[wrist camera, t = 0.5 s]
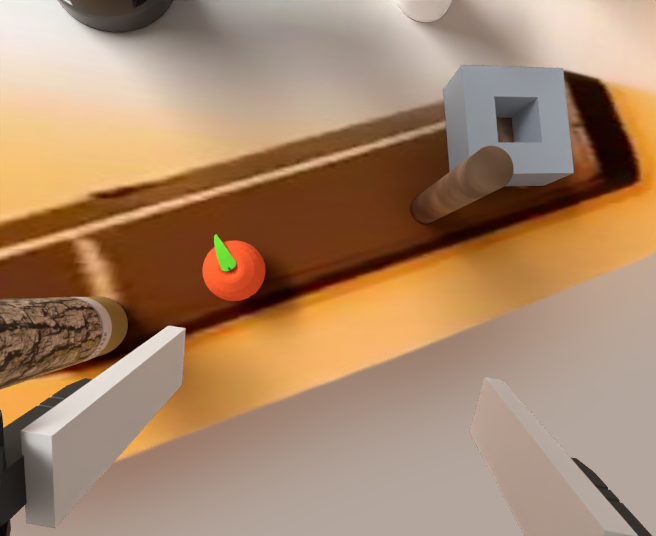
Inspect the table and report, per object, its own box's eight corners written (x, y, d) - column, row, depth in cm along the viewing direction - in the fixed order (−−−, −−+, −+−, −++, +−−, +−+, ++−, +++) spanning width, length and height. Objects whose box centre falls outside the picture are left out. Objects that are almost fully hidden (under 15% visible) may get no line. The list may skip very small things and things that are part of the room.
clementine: (197, 252, 40) (177, 244, 33) (248, 228, 41) (240, 215, 34) (226, 310, 40) (212, 313, 33) (277, 284, 41) (274, 283, 34)
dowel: (409, 194, 44) (470, 145, 29) (437, 194, 45) (511, 145, 30) (411, 224, 44) (473, 189, 29) (439, 223, 44) (515, 188, 29)
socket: (443, 89, 46) (461, 64, 41) (534, 91, 47) (562, 68, 42) (450, 186, 45) (470, 173, 40) (543, 185, 47) (573, 173, 42)
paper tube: (142, 313, 39) (-115, 352, 14) (110, 365, 38) (-221, 499, 13) (90, 286, 39) (-269, 275, 14) (56, 337, 38) (-389, 424, 13)
